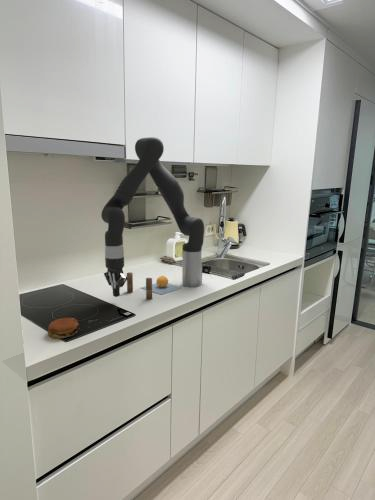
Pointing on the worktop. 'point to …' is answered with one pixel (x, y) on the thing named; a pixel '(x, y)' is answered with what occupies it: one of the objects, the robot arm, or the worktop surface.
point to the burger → (63, 328)
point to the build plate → (206, 268)
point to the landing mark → (163, 288)
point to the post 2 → (148, 288)
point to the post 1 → (129, 282)
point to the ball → (162, 281)
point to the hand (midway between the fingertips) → (116, 296)
